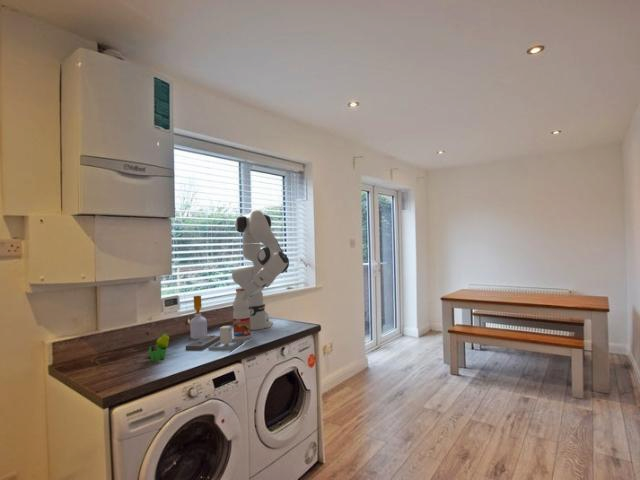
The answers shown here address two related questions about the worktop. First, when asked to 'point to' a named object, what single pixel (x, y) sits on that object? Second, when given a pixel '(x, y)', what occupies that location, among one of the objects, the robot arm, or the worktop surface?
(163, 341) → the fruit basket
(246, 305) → the fruit juice
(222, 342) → the charger
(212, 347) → the tray
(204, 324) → the soap bottle
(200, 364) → the worktop surface
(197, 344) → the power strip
